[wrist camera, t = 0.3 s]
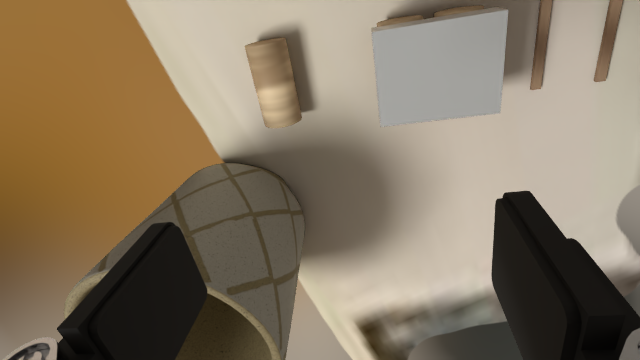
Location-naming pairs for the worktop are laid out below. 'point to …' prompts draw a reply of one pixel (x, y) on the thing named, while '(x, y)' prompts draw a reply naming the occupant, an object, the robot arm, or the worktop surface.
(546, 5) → the bed rollers
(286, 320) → the planter
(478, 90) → the slab
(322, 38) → the worktop surface
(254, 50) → the roller
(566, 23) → the worktop surface
